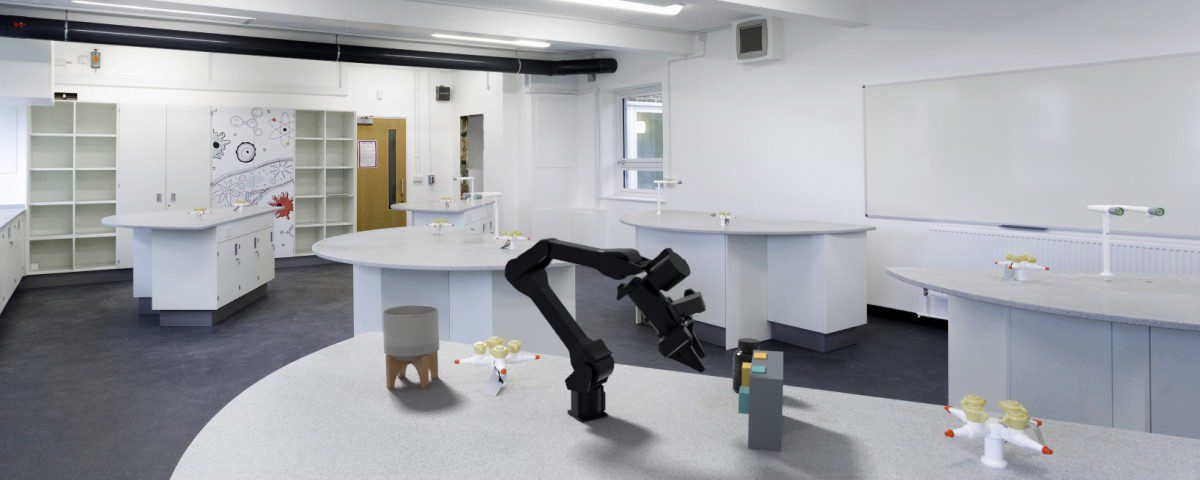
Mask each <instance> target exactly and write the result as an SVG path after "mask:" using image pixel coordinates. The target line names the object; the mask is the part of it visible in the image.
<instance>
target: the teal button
mask: <svg viewBox="0 0 1200 480" xmlns="http://www.w3.org/2000/svg"><path fill="white" fill-rule="evenodd" d="M738 414H743V415H749V387H742V386H740V389H739V393H738Z"/></svg>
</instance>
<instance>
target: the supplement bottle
mask: <svg viewBox="0 0 1200 480" xmlns="http://www.w3.org/2000/svg"><path fill="white" fill-rule="evenodd" d="M737 348H738V349H737V350H736V351H734V353H733V356H732V357H733V360H732V361H733V362H732V390H733V391H734V392H735V393H738V394H739V389H740V386H742V365H743V363H752V357H753V351H754V350H760V340H758V339H755V338H750V337H744V338H738V339H737Z"/></svg>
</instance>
